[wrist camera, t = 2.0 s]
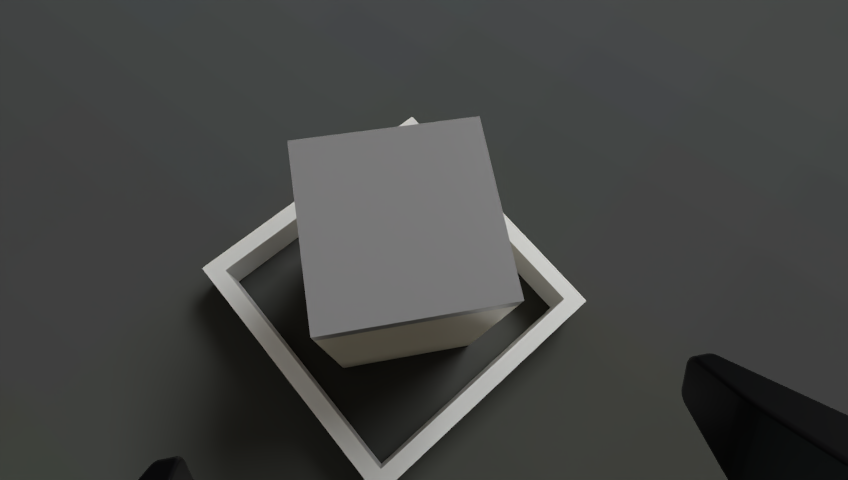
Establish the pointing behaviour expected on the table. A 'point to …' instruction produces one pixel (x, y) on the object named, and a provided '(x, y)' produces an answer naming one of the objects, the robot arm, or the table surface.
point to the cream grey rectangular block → (401, 240)
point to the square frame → (376, 475)
